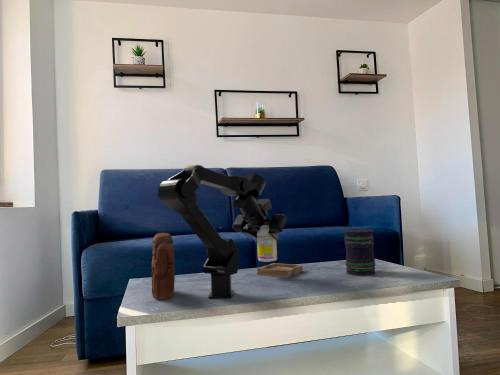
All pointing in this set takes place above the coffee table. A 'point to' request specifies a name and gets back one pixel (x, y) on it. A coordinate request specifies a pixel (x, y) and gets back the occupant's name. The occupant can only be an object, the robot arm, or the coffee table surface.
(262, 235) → the supplement bottle
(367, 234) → the storage jar
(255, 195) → the robot arm
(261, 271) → the walnut tray
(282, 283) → the coffee table surface
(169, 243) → the wooden figurine
